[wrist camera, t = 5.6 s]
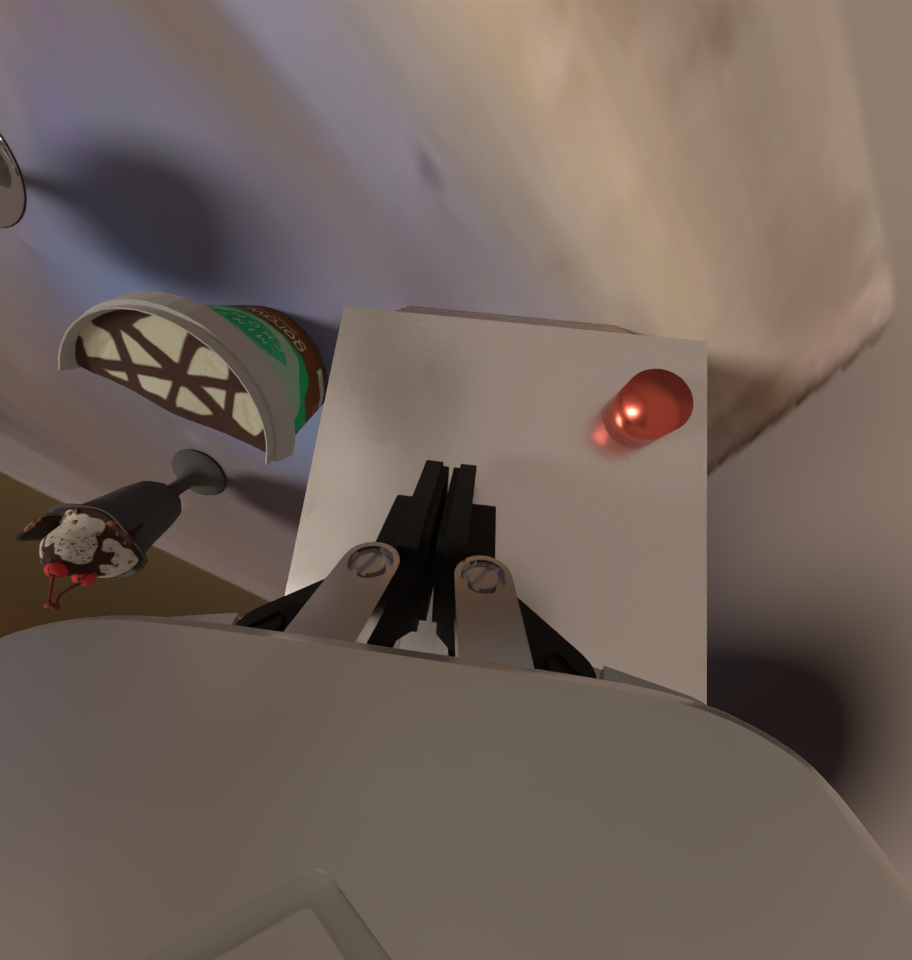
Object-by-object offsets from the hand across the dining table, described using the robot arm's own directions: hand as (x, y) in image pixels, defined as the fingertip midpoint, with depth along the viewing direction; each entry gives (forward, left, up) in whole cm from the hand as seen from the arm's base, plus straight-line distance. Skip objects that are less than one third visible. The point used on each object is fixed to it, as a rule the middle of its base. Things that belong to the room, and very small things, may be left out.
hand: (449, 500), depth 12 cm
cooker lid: (+3, +2, 0) cm, 4 cm away
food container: (-1, -15, -17) cm, 23 cm away
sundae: (+12, -25, -17) cm, 32 cm away
